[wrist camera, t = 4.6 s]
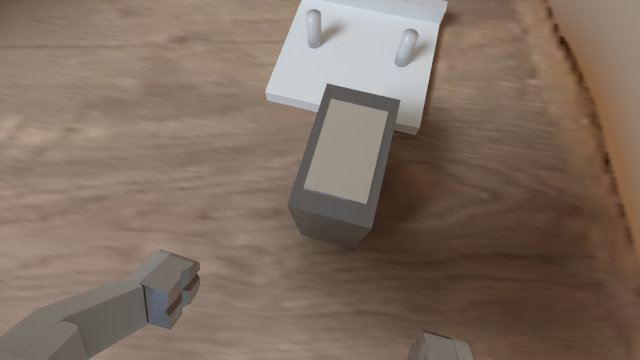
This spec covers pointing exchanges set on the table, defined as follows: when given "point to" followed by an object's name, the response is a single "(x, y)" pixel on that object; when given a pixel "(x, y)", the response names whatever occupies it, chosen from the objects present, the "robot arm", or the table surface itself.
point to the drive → (344, 166)
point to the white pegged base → (360, 53)
